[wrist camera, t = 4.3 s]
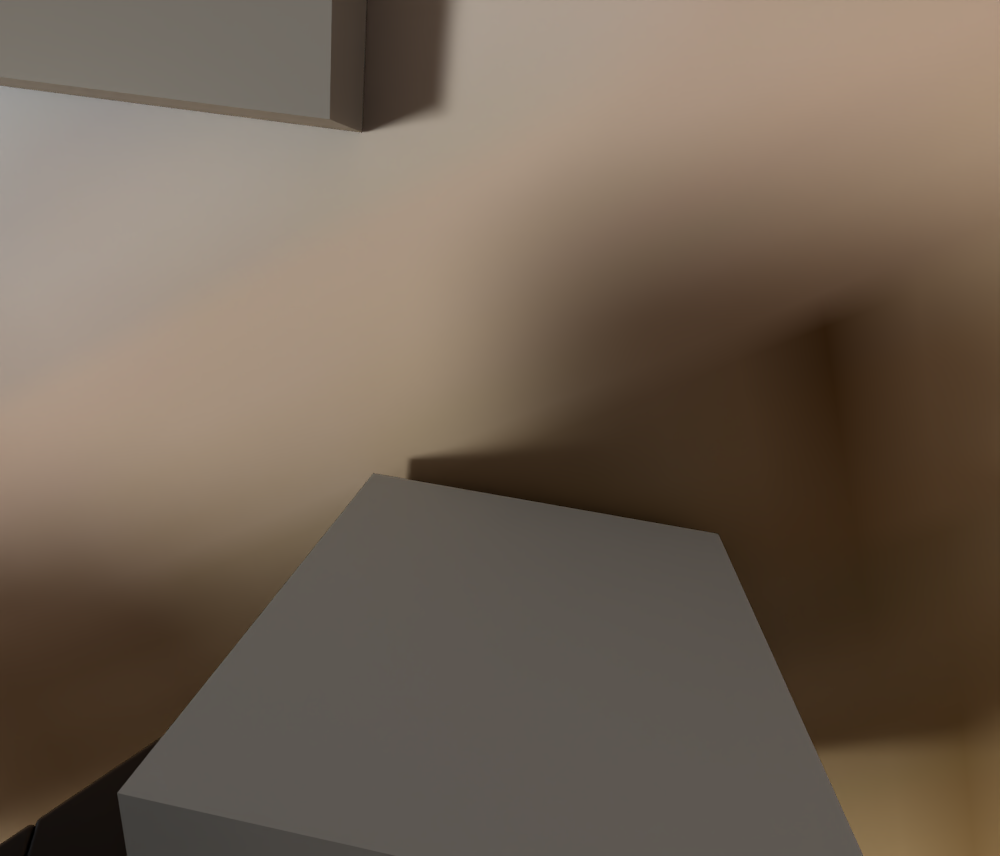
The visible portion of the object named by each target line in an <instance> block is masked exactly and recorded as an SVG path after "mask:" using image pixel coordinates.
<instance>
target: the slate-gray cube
mask: <svg viewBox="0 0 1000 856" xmlns="http://www.w3.org/2000/svg"><path fill="white" fill-rule="evenodd" d="M117 795H118V801H119V808H120V814H121V820H122V826H123V833H124V839H125V845H126V851H127V856H863V854H862V852H861V850H860V848H859V846H858V843H857V841H856V839H855V837H854V834H853V832H852V830H851V828H850V826H849V823H848V821H847V819H846V817H845V814H844V812H843V810H842V808H841V806H840V803H839V801H838V799H837V797H836V794H835V792H834V790H833V788H832V786H831V783H830V781H829V779H828V777H827V774H826V772H825V770H824V768H823V766H822V763H821V761H820V759H819V757H818V754H817V752H816V750H815V748H814V746H813V743H812V741H811V739H810V737H809V734H808V732H807V730H806V728H805V726H804V723H803V721H802V719H801V717H800V714H799V712H798V710H797V708H796V706H795V703H794V701H793V699H792V697H791V694H790V692H789V690H788V688H787V686H786V683H785V681H784V679H783V677H782V674H781V672H780V670H779V668H778V666H777V663H776V661H775V659H774V657H773V654H772V652H771V650H770V648H769V646H768V643H767V641H766V639H765V637H764V634H763V632H762V630H761V628H760V626H759V623H758V621H757V619H756V617H755V614H754V612H753V610H752V608H751V606H750V603H749V601H748V599H747V597H746V594H745V592H744V590H743V588H742V586H741V583H740V581H739V579H738V577H737V574H736V572H735V570H734V568H733V566H732V563H731V561H730V559H729V557H728V554H727V552H726V550H725V548H724V546H723V543H722V541H721V539H720V537H719V534H716V533H711V532H705V531H699V530H694V529H688V528H682V527H677V526H671V525H665V524H659V523H654V522H648V521H642V520H637V519H631V518H625V517H620V516H614V515H608V514H603V513H597V512H591V511H585V510H580V509H574V508H568V507H563V506H557V505H551V504H546V503H540V502H534V501H528V500H523V499H517V498H511V497H506V496H500V495H494V494H489V493H483V492H477V491H471V490H466V489H460V488H454V487H449V486H443V485H437V484H432V483H426V482H420V481H414V480H409V479H403V478H397V477H392V476H386V475H380V474H375V473H373V474H372V476H371V477H370V478H369V479H368V481H367V482H366V483H365V484H364V486H363V487H362V488H361V489H360V491H359V492H358V493H357V494H356V496H355V497H354V498H353V499H352V501H351V502H350V503H349V504H348V506H347V507H346V508H345V509H344V511H343V512H342V513H341V514H340V516H339V517H338V518H337V519H336V521H335V522H334V523H333V524H332V526H331V527H330V528H329V529H328V531H327V532H326V533H325V534H324V536H323V537H322V538H321V539H320V541H319V542H318V543H317V544H316V546H315V547H314V548H313V549H312V551H311V552H310V553H309V554H308V556H307V557H306V558H305V559H304V561H303V562H302V563H301V564H300V566H299V567H298V568H297V569H296V571H295V572H294V573H293V574H292V575H291V577H290V578H289V579H288V580H287V582H286V583H285V584H284V585H283V587H282V588H281V589H280V590H279V592H278V593H277V594H276V595H275V597H274V598H273V599H272V600H271V602H270V603H269V604H268V605H267V607H266V608H265V609H264V610H263V612H262V613H261V614H260V615H259V617H258V618H257V619H256V620H255V622H254V623H253V624H252V625H251V627H250V628H249V629H248V630H247V632H246V633H245V634H244V635H243V637H242V638H241V639H240V640H239V642H238V643H237V644H236V645H235V647H234V648H233V649H232V650H231V652H230V653H229V654H228V655H227V657H226V658H225V659H224V660H223V662H222V663H221V664H220V665H219V667H218V668H217V669H216V670H215V672H214V673H213V674H212V675H211V677H210V678H209V679H208V680H207V682H206V683H205V684H204V685H203V687H202V688H201V689H200V690H199V692H198V693H197V694H196V695H195V697H194V698H193V699H192V700H191V702H190V703H189V704H188V705H187V706H186V708H185V709H184V710H183V711H182V713H181V714H180V715H179V716H178V718H177V719H176V720H175V721H174V723H173V724H172V725H171V726H170V728H169V729H168V730H167V731H166V733H165V734H164V735H163V736H162V738H161V739H160V740H159V741H158V743H157V744H156V745H155V746H154V748H153V749H152V750H151V751H150V753H149V754H148V755H147V756H146V758H145V759H144V760H143V761H142V763H141V764H140V765H139V766H138V768H137V769H136V770H135V771H134V773H133V774H132V775H131V776H130V778H129V779H128V780H127V781H126V783H125V784H124V785H123V786H122V788H121V789H120V790H119V791H118V793H117Z"/></svg>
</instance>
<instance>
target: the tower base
mask: <svg viewBox="0 0 1000 856" xmlns="http://www.w3.org/2000/svg"><path fill="white" fill-rule="evenodd" d="M366 11H367V0H0V86H8V87H16V88H23V89H31V90H39V91H46V92H54V93H62V94H69V95H77V96H85V97H93V98H100V99H108V100H116V101H123V102H131V103H139V104H146V105H154V106H162V107H170V108H177V109H185V110H193V111H200V112H208V113H216V114H223V115H231V116H239V117H247V118H254V119H262V120H270V121H277V122H285V123H293V124H300V125H308V126H316V127H324V128H331V129H339V130H347V131H354V132H362V119H363V92H364V65H365V38H366Z"/></svg>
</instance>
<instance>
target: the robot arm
mask: <svg viewBox="0 0 1000 856" xmlns="http://www.w3.org/2000/svg"><path fill="white" fill-rule="evenodd" d="M161 738H162V737H161ZM161 738H159V739H158V740H156V741H155V742H153V743H152V744H150V745H149V746H147V747H146V748H144V749H143V750H141V751H140V752H138V753H137V754H135V755H134V756H132V757H131V758H129V759H128V760H126V761H125V762H123V763H122V764H120V765H119V766H117V767H116V768H114V769H113V770H111V771H110V772H108V773H107V774H105V775H104V776H102V777H101V778H99V779H98V780H96V781H95V782H93V783H92V784H90V785H89V786H87V787H86V788H84V789H83V790H81V791H80V792H78V793H77V794H75V795H74V796H72V797H71V798H69V799H68V800H66V801H65V802H63V803H62V804H60V805H59V806H57V807H56V808H54V809H53V810H51V811H50V812H48V813H47V814H45V815H44V816H42V817H41V818H39V820H38V821H37V823H36V825H35V826H34V825H29V826H27V827H25V828H24V829H22V830H21V831H19V832H18V833H16V834H15V835H13V836H12V837H10V838H9V839H7V840H6V841H4V842H3V843H1V844H0V856H127V851H126V845H125V839H124V833H123V826H122V820H121V814H120V808H119V801H118V795H117V793H118V791H119V790H120V789H121V788H122V786H123V785H124V784H125V783H126V781H127V780H128V779H129V778H130V776H131V775H132V774H133V773H134V771H135V770H136V769H137V768H138V766H139V765H140V764H141V763H142V761H143V760H144V759H145V758H146V756H147V755H148V754H149V753H150V751H151V750H152V749H153V748H154V746H155V745H156V744H157V743H158V741H159V740H160V739H161Z"/></svg>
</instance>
